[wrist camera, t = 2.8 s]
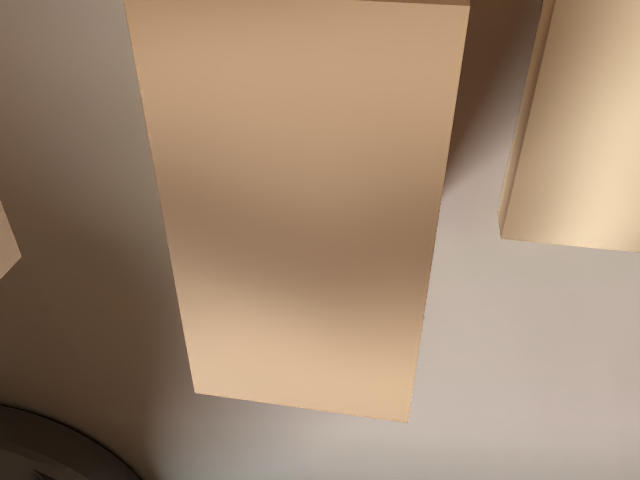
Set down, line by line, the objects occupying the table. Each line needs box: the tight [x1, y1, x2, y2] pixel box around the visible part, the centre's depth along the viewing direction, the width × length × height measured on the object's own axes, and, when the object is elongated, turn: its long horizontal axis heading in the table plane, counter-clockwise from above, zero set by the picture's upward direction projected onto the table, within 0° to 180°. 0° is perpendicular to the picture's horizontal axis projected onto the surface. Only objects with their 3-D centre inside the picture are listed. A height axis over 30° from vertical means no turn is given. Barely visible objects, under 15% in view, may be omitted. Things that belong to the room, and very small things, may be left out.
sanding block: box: [124, 0, 470, 423], centre depth 14 cm, size 9×5×8 cm, turn 0°
